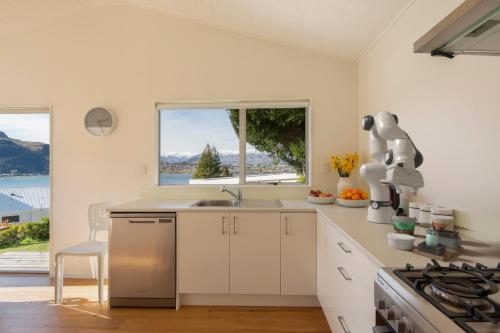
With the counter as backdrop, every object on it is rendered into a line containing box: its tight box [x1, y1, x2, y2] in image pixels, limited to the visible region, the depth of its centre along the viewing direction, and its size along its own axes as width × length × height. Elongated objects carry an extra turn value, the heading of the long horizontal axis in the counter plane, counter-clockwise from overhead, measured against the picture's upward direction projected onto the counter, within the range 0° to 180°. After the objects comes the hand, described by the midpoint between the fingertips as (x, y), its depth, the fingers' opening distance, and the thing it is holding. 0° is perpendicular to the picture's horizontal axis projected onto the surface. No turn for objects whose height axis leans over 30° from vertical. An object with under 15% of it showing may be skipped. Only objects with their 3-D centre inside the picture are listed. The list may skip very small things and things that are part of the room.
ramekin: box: [386, 232, 416, 251], centre depth 118 cm, size 11×11×5 cm
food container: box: [392, 215, 418, 237], centre depth 138 cm, size 12×6×10 cm, turn 71°
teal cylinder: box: [425, 228, 438, 248], centre depth 108 cm, size 4×4×9 cm
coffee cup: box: [431, 214, 455, 231], centre depth 129 cm, size 9×9×12 cm
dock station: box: [412, 229, 465, 262], centre depth 112 cm, size 23×11×8 cm, turn 123°
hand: (406, 194), depth 125 cm, fingers open, 8 cm apart
